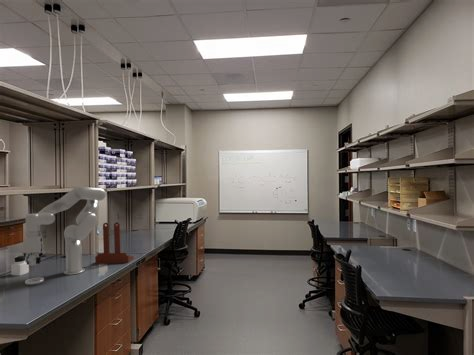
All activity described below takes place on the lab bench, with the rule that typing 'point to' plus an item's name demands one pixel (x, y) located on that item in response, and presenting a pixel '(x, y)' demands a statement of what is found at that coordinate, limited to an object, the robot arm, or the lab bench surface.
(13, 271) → the medicine bottle
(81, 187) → the robot arm
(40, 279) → the shallow grey dish
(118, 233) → the twin post bracket
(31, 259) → the white light bulb
